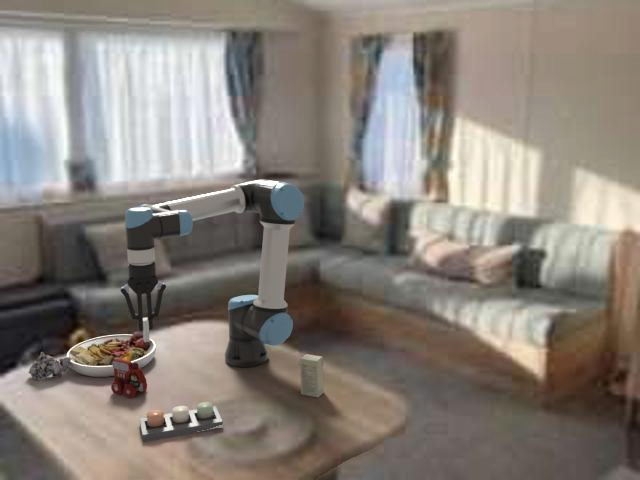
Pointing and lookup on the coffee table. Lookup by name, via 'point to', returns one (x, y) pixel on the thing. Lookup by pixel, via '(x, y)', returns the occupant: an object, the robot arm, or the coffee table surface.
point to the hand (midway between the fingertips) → (146, 340)
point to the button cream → (180, 414)
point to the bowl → (110, 353)
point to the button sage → (205, 410)
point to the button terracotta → (155, 418)
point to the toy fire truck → (128, 378)
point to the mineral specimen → (48, 367)
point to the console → (179, 426)
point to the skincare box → (311, 375)
